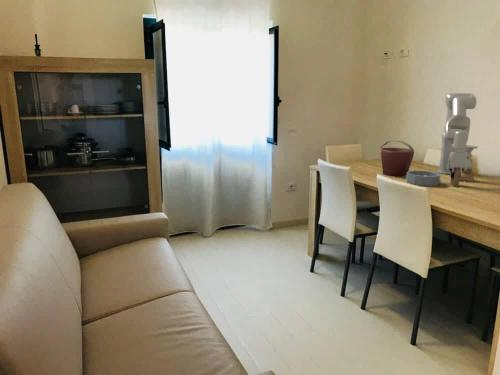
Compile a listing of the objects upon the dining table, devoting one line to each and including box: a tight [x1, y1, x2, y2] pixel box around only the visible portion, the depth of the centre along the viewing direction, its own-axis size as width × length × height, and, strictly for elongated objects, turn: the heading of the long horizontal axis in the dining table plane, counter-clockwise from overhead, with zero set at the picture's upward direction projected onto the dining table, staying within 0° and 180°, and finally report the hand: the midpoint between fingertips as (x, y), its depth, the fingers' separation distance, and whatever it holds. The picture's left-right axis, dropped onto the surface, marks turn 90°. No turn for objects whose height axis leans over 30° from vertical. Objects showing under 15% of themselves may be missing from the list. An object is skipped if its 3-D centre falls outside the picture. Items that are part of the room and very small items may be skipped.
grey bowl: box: [405, 169, 441, 187], centre depth 261 cm, size 20×20×6 cm
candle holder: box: [459, 144, 478, 183], centre depth 267 cm, size 11×11×24 cm
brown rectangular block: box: [449, 168, 461, 187], centre depth 254 cm, size 6×3×12 cm, turn 174°
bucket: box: [380, 140, 415, 178], centre depth 286 cm, size 24×22×25 cm
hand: (455, 178), depth 255 cm, fingers closed on brown rectangular block, 3 cm apart
